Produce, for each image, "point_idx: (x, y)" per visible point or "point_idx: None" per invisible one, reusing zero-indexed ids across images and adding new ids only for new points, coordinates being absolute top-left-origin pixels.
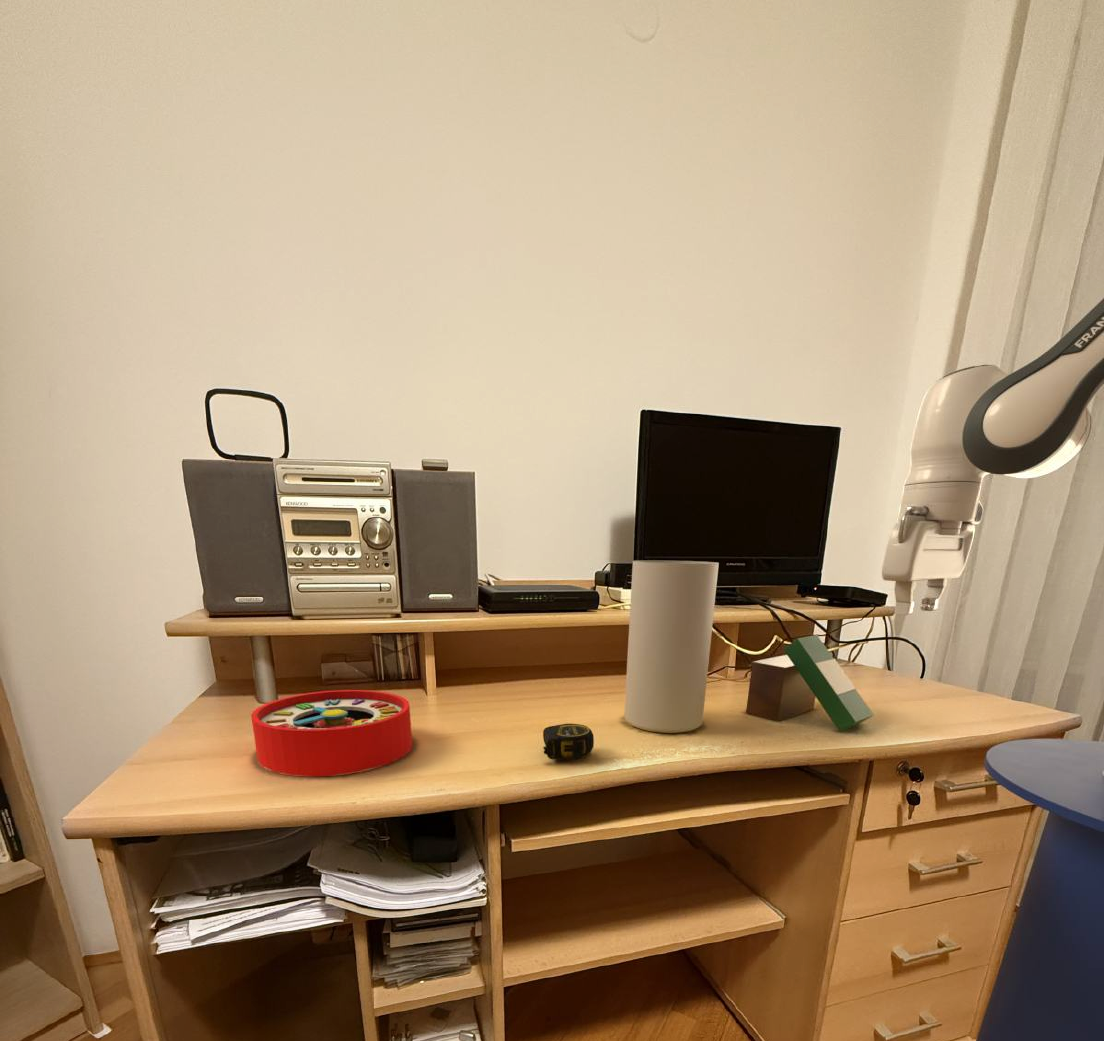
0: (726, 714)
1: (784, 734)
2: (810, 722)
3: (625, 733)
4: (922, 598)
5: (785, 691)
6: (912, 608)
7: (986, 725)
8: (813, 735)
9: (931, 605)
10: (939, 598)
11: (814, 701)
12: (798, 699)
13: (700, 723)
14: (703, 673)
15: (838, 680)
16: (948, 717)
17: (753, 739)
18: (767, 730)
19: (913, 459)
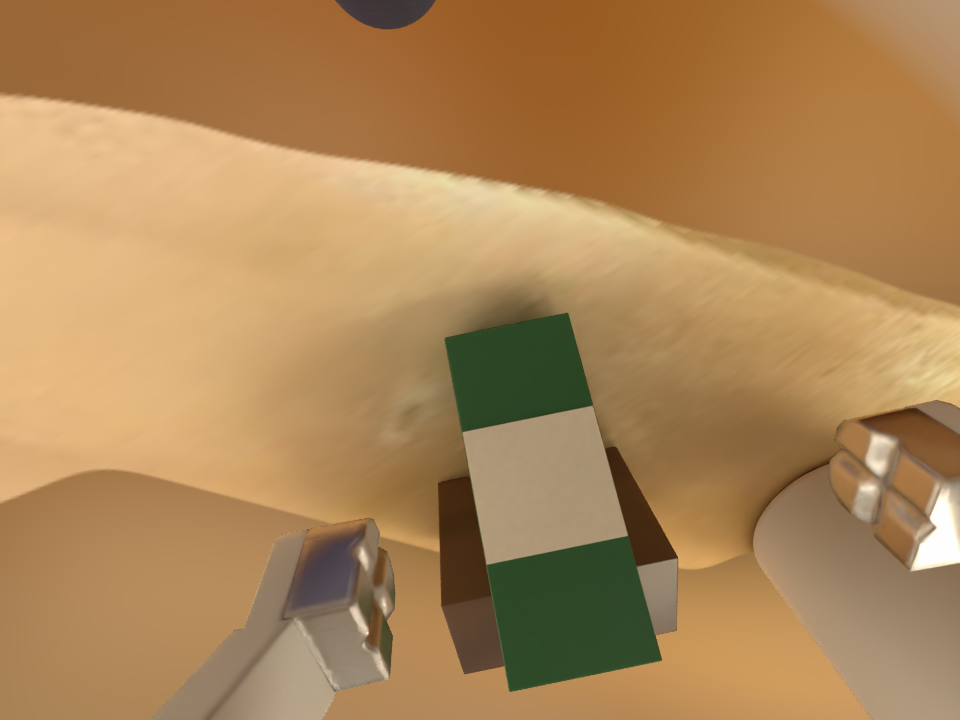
0: (664, 518)
1: (698, 373)
2: None
3: None
4: (389, 675)
5: (626, 502)
6: (906, 438)
7: (17, 171)
8: (647, 340)
9: (362, 565)
10: (250, 624)
11: (440, 498)
12: None
13: (824, 471)
14: (947, 565)
15: (542, 463)
16: (83, 289)
17: (791, 375)
18: (702, 408)
19: None
